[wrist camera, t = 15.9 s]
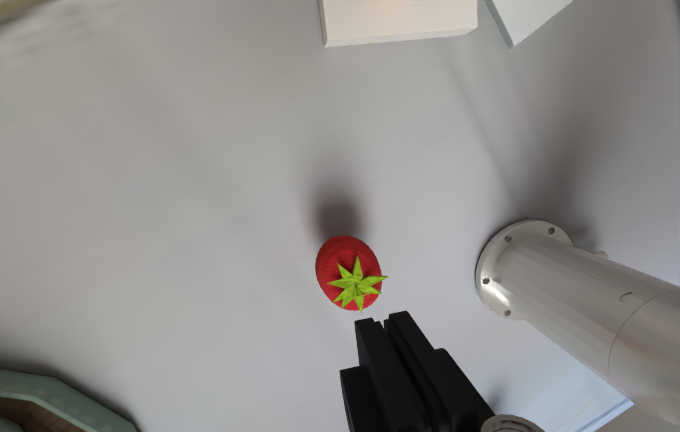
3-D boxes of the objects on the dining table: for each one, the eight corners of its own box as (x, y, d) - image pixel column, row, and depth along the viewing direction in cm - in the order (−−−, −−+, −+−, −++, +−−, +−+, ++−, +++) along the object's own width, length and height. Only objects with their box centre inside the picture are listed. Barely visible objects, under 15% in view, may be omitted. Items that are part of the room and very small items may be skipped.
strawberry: (349, 211, 35) (373, 239, 26) (377, 268, 37) (409, 314, 28) (299, 236, 35) (305, 274, 25) (330, 293, 37) (346, 347, 28)
